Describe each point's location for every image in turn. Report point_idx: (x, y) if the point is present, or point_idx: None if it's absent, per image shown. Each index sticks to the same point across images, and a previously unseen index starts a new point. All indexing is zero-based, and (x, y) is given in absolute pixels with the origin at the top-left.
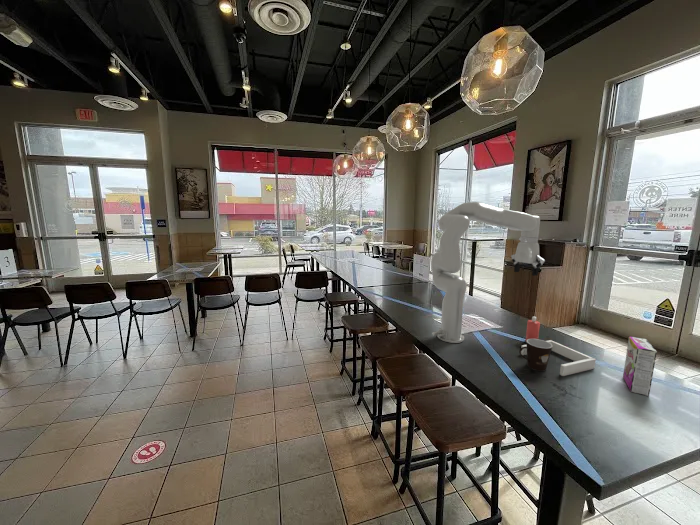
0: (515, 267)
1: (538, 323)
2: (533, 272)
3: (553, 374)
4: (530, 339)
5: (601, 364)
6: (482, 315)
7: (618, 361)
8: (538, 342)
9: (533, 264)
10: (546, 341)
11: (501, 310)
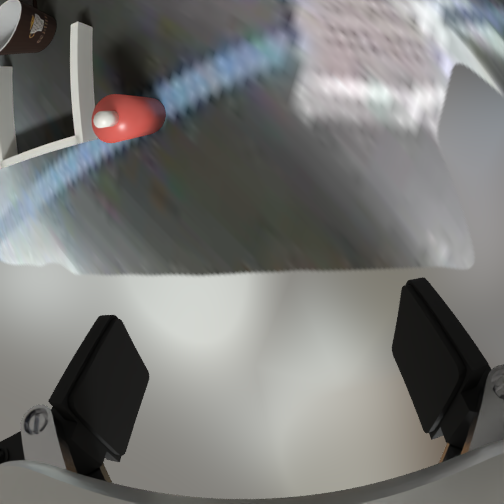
0: (447, 328)
1: (94, 125)
2: (83, 344)
3: None
4: (19, 14)
5: (26, 197)
6: (424, 146)
7: (38, 248)
8: (15, 37)
9: (49, 462)
10: (77, 118)
11: (428, 262)
